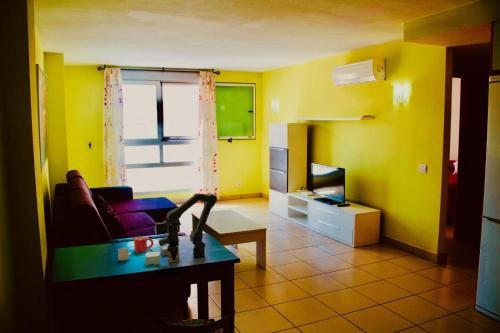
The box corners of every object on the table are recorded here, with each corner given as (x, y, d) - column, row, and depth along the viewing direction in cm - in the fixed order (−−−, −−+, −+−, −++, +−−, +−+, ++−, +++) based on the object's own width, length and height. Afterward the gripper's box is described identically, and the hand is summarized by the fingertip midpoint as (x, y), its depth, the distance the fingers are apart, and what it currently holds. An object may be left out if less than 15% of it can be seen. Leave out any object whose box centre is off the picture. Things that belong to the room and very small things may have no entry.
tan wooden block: (170, 251, 246) (169, 245, 246) (172, 254, 241) (172, 248, 240) (160, 253, 243) (160, 247, 243) (163, 256, 238) (163, 249, 238)
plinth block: (160, 259, 232) (160, 251, 231) (160, 264, 224) (159, 255, 224) (146, 260, 230) (146, 252, 230) (145, 265, 222) (145, 257, 222)
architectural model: (119, 259, 234) (118, 247, 233) (131, 258, 236) (130, 246, 235) (118, 261, 231) (117, 249, 230) (130, 260, 232) (130, 248, 232)
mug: (154, 250, 249) (153, 238, 248) (134, 252, 245) (134, 240, 244) (153, 246, 256) (152, 235, 255) (134, 248, 253) (133, 237, 252)
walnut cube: (179, 258, 233) (179, 248, 233) (179, 261, 227) (178, 251, 227) (169, 258, 232) (168, 249, 232) (168, 262, 227) (168, 252, 226)
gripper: (160, 229, 236) (161, 254, 238) (157, 238, 218) (158, 264, 219) (178, 228, 238) (179, 253, 239) (177, 236, 219) (178, 263, 221)
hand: (174, 258), depth 230 cm, fingers closed on walnut cube, 6 cm apart
